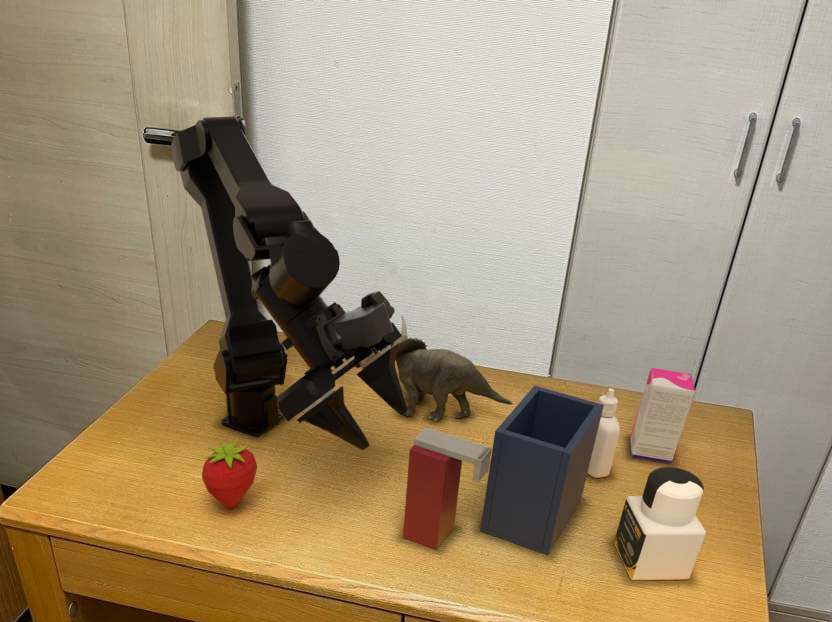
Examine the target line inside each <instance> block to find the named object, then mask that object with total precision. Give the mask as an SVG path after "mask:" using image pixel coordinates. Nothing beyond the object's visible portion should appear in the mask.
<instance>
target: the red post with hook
mask: <svg viewBox="0 0 832 622" xmlns="http://www.w3.org/2000/svg"><path fill="white" fill-rule="evenodd" d="M492 449H493V447H490V446H487V445H484V444H480V443H477V442H473V441H471V440H468V439H464V438H461V437H458V436H454V435H451V434H448V433H445V432H442V431H439V430H435V429H432V428H430V427H425V428H424V429H422V431H421V432H419V433H418V434H417V436H416V437H414V438H413V445H412V446H411V447H410V449H409V453H408V465H407V477H406V478H407V479H406V480H407V481H406V490H405V491H406V492H405V504H404V505H405V506H404V519H403V529H402V531H403V532H402V538H403V539H405V540H408V541H411V542H414V543H417V544H419V545H422V546H424V547H427V548H430V549H433V550H435V551H437V550H438V549H439V548H440V546H441V545H442V544H443V542H444V541H445V540H446V539H447V538H448V536H449V535H450V534H451V532H452V531H453V530H454V528H455V520H456V514H457V505H458V496H459V490H460V489H459V488H460V481H461V472H462V467H463V466H462V464H463V462H465V463H468V464H472V465H474V467H473V475H472V482H473V483H476V484H479V483H480V481H481V480H482V479H483V478H484V477H485V475H486V474H487V473H489V469H490V462H491V456H492Z"/></svg>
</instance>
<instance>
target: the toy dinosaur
mask: <svg viewBox="0 0 832 622" xmlns="http://www.w3.org/2000/svg"><path fill="white" fill-rule="evenodd" d="M400 318H401V321H402V324H401V330H400V331H401V332H400V333H401V335H402V336H401V337H400V338H399V339H397V340H396V341H395V342H393V343H392V344H391V345H389V346H390V347H391V348H392V347H394V346H395V345H396V344H398V343H399V344H400V347H399V348H398V350H397V354H396V359H395V363H396V365H397V371H398V379H399V382H400V383H402V385H403V387H404V389H405V391H406V392H407V393H408V400H407V408H408V411H407V412H406V413H405V414H403V415H402V416H405V417H407V418H409V417H410V418H412V417H413V416H414V415H415V412H416V407H417V404H418V403H419V402H422V401H423V400H425V398H424V397H425V396H432V398H433V401H434V402H435V404H436V408H435V410H434V411H430V412H429V413H428V417H427V419H428V420H433V422H438V421H440V420H441V419H443V418H444V414H445V413H446V404H447V403H448V400H449V395H452V396H453V398H454V399H455V400H456V401H457V402H458V404H459V408H460V411H458V413H457V414H456V415H455V418H457V419H462V418H466V417H469V416H470V415H471V413H472V412H471V404H470V401H469V400H468V398H467V395H466V393H469V394H473V395H475V396H481V397H485V398H487V399H490V400H493V401H495V402H496V403H500V404H504V405H508V406H509V405H510V406H511V405H514V402H513V401H512V400H511V399H508V398H506V397H504V396H503V395H501V394H500V393H498V391H496V390H495V389H493V388H492V387H491V384H489V381H488V380H487V379H486V377H485V376H483V374H482V373H481V372H480V371H479V369H477V367H476V365H475V364H474V363H473V362H472V361H471V360H470V359H469V358H467V357H466V356H463V355H461V354H460V353H458V352H454V351H452V350H450V349H445V348H431V349H430V348H429V349H428V348H427V347H428V345H427V344H426V343H427V342H426V341H423V339H418V337H414V338H413V337H408V331H407V329H408V328H407V324H406V320H405V318H404V316H403V315H400Z"/></svg>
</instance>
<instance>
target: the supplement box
mask: <svg viewBox="0 0 832 622" xmlns="http://www.w3.org/2000/svg"><path fill="white" fill-rule="evenodd" d="M695 393H696V390H695V385H694V380H693V375H692V373H690V372H689V373H688V372H683V371H676V370H669V369H664V368H658V367H657V368H656V367H650V369H649V373H648V377H647V379H646V384H645V387H644V390H643V393H642V397H641V400H640V404H639V407H638V410H637V414H636V417H635V421H634V423H633V428H632V431H631V434H630V436H629V450H630V451H629V452H630V458H632V459H636V460H644V461H650V462H656V463H662V464H672V462H673V459H674V456H675V455H676V454H675V453H676V450H677V448H678V445H679V441H680V439H681V436H682V433H683V430H684V427H685V425H686V421H687V417H688V415H689V412H690V409H691V405H692V403H693V400H694V397H695Z"/></svg>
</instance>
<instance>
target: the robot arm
mask: <svg viewBox="0 0 832 622" xmlns="http://www.w3.org/2000/svg"><path fill="white" fill-rule="evenodd" d="M171 156H172V162H173V166H174V168H175V171H176V172H179V175H180V178H181V182H182V185H183V187H184V190H185V192H187V194H188V195H189V196H190V197H191V198H192V199H193V200H194V201H195V202H196V204H197V205H198V206H199V207H200V209H201V213H202V217H203V223H204V227H205V231H206V235H207V240H208V245H209V249H210V254H211V257H212V262H213V267H214V272H215V275H216V280H217V285H218V289H219V293H220V299H221V303H222V307H223V312H224V317H225V321H224V324H223V326H222V327H223V328H222V329H221V333H220V336H219V339H218V345H219V351H218V352H217V354H216V357H215V360H214V362H213V371H214V376H215V381H216V382H217V385H218V386H219V387H220V389H221V391H222V392H223V393H224V395H225V397H226V398H225V399H226V409H227V416H224V418H221V420H220V421H221V422H220V424H221V425H222V426H225V427H228V428H231V429H234V430H237V431H240V432H243V433H245V434H249V435H251V436H254V437H259V436H261V435H263V434H264V433H265V432H267V430H269V429H271V428H272V427H273V426H274V425H276V424H277V423H279V422H280V421H281V420H283V418H285V420H286V421H287V422H290V421H291V420H292V419H294V418H295V417H297V416H298V415H299V414H300V413H302V415H301V416H300V417H298V418H297V419H296V421H297V422H298V423H299V424H302V423H303V422H306V423H308V424H310V425H312V426H314V427H316V428H318V429H321V430H323V431H325V432H328V433H329V434H331V435H333V436H335V437H336V438H339V439H341V440H342V441H344V442H346V443H348V444H349V445H352V446H354V447H355V448H357V449H358V450H361V451H365V450H366V449H368V448H369V447H370V442H369V440H368V439H367V436H366V435H365V433H364V432H363V430H362V429H361V427H360V426H359V424H358V422H357V421H356V419H355V418H354V417H353V415H352V413H351V412H350V411H349V409H348V408H347V406H346V404H345V395H344V394H345V392H344V386H343V385H341V386H340V387H339V388H338V389H336V390H335V389H334V388H335V387H336V381H337V380H339V379H340V378H342V377H343V376H344V375H345V374H346V373H348V372H349V371H351V370H352V369H353V368H356V369H359V368H362V369H361V370H360V371H358V372H357V373H356V376H357V377H358V378H359V379H360V380H361V381H362V382H363V383H364V384H366V385H367V386H368V387H369V388H370V389H371V390H372V391H373V392H374V393H375V394H376V395H378V396H379V398H381V399H382V400H383V401H384V402H385V404H387V405H388V406H389V407H391V409H393V410H394V411H395V412H396V413H398V414H399V415H400V416H404V415H403V414H405V413H406V412H407V411H408V408H407V406H408V403H407V402H406V398H405V395H404V392H403V389H402V385H401V381H400V378H399V375H398V373H397V368H396V360H395V359H396V354H397V350H398V348H399V347H400V344H399V343H398V344H396V345H395V346H394V347H392V348H391V347H390V345H391V344H392V343H393V342H395V341H396V340H397V339H399V338H400V337H401V336H402V335H401V332H400V331H399V329H398V328H397V326H396V324H395V323H394V322H392V321H391V319H392V317H393V315H394V314H395V312H396V311H395V307H394V306H392V305H391V303H390V301H389V300H388V299H387V297H385V296H384V294H383V293H382V292H381V291H380V290H377V291H374V292H370V293H368V294H366V295H364V296H363V297H362V298H361V302H360V306H358V307H355V309H353V310H350V311H345V310H344V308H343V307H342V306H341V305H340V304H339V303H337V302H333V303H331V304H330V305H329V304H328V303H327V302H326V300H325V299H324V298H323V296H322V294H323V293H324V292H325V291H326V289H327V288H328V287H329V286H330V285H331V284H332V282H334V280H335V278H337V276H338V273H339V271H340V266H341V265H340V264H341V261H340V255H339V252H338V249H336V247H335V245H334V244H333V243H332V242H331V241H330V240H329V238H327V237H326V236H325V235H323V234H322V233H321V232H320V231H319V230H318V229H317V228H316V227H315V225H314V224H313V222H312V220H311V219H310V218H309V216H308V215H307V213H306V212H305V211H304V210H303V209H302V207H301V206H300V204H299V203H298V201H297V200H296V199H295V197H293V196H292V194H291V193H290V192H289V191H287V190H285V189H283V188H281V187H278V186H276V185H274V184H273V183H272V182H271V180H270V178H269V177H268V174H267V173H266V171H265V169H264V167H263V166H262V164H261V162H260V160H259V158H258V156H257V155H256V152H255V151H254V149H253V148H252V146H251V143H250V142H249V140H248V139H247V136H246V129H245V125H244V122H243V120H242V119H241V118H240V117H239V118H237V117H236V116H235V115H234V116H210V117H209V116H208V117H202V119H198V120H197V121H196V123H195V124H194V125H192V126H189V127H187V128H185V129H183V130H180V131H178V132H176V134H175V135H174V136H173V139H172V141H171ZM267 260H269V261H270V264H268V265H267V266H262V267H261V268H259V269H258V270H256V271H254V272H253V273H252V270H251V266H250V262H258V261H267ZM258 300H259V301H260V303H261V304H262V305H263V307H264V308H265V310H266V311H267V312H268V314H269V315H270V316H271V318H272V319H268V318H267V317H266V316H265V315H264V314H263V312H262V311H261V310H260V307H259V303H258ZM277 326H278V327H279V329H280V330H281V331H282V332H283V334H284V335H285V337H286V338H284V340H283V341H280V338H279V334H278V329H277ZM293 347H294V349H295V350H296V352H297V353H298V354H299V356H300V357H301V358H302V360H303V361H304V362H305V364H306V365H307V367H308V368H309V369H308V370H307V371H305V372H304V375H303V376H302V377H300V378H299V379H298V380H296V381H295V382H294V383H293V384H291V385H290V386H289V387H287V388H286V389H285V390H284V391H283V392H281V393H280V394H279V395H278V394H276V386H283V385H285V380H286V373H287V366H288V356H289V355H288V352H287V351H288V350H289V349H290V350H291V348H293ZM344 360H345V361H344ZM332 368H334V369H332Z"/></svg>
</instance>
